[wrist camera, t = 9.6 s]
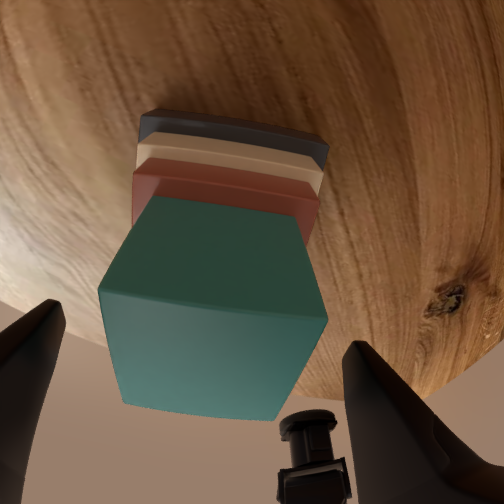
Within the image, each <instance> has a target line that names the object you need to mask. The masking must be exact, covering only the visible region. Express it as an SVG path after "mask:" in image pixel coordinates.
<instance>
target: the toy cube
mask: <svg viewBox="0 0 504 504" xmlns="http://www.w3.org/2000/svg"><path fill="white" fill-rule="evenodd" d="M98 296H99V302H100V307H101V313H102V318H103V323H104V328H105V333H106V338H107V342H108V347H109V351H110V355H111V359H112V363H113V367H114V371H115V375H116V378H117V382H118V386H119V389H120V393H121V396H122V400H123V402H124V403H125V404H130V405H135V406H140V407H145V408H150V409H156V410H162V411H168V412H175V413H182V414H190V415H198V416H206V417H215V418H227V419H241V420H259V421H274V420H275V418H276V417H277V415H278V413H279V412H280V410H281V408H282V406H283V405H284V403H285V401H286V400H287V398H288V396H289V394H290V393H291V391H292V389H293V387H294V385H295V384H296V382H297V380H298V378H299V376H300V375H301V373H302V371H303V369H304V367H305V365H306V363H307V362H308V360H309V358H310V356H311V354H312V352H313V350H314V348H315V346H316V344H317V342H318V340H319V338H320V336H321V334H322V332H323V330H324V328H325V326H326V324H327V322H328V316H327V312H326V309H325V306H324V303H323V299H322V296H321V293H320V290H319V287H318V283H317V280H316V277H315V274H314V271H313V268H312V265H311V262H310V259H309V256H308V253H307V250H306V247H305V244H304V241H303V238H302V235H301V232H300V229H299V226H298V223H297V220H296V218H295V217H293V216H288V215H282V214H276V213H270V212H264V211H258V210H251V209H245V208H239V207H232V206H226V205H219V204H212V203H205V202H198V201H191V200H184V199H177V198H169V197H161V196H152V197H151V198H150V200H149V201H148V203H147V205H146V206H145V208H144V209H143V211H142V212H141V214H140V216H139V217H138V219H137V220H136V222H135V224H134V225H133V227H132V229H131V230H130V232H129V234H128V235H127V237H126V239H125V240H124V242H123V244H122V245H121V247H120V249H119V250H118V252H117V254H116V256H115V257H114V259H113V261H112V263H111V265H110V266H109V268H108V270H107V272H106V274H105V275H104V277H103V279H102V281H101V283H100V285H99V287H98Z"/></svg>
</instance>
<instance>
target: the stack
mask: <svg viewBox="0 0 504 504" xmlns="http://www.w3.org/2000/svg"><path fill="white" fill-rule="evenodd" d="M329 147H330V146H329V145H328V144H327V143H326V142H325V141H323V140H322V139H321V138H320V137H319V136H317V135H314V134H310V133H306V132H301V131H297V130H292V129H288V128H283V127H278V126H273V125H268V124H263V123H258V122H252V121H247V120H241V119H235V118H228V117H222V116H215V115H208V114H200V113H192V112H183V111H173V110H162V109H154V110H152V111H149V112H147V113H145V114H143V115H141V118H140V128H139V140H138V148H137V162H136V170H135V171H134V173H133V183H132V227H133V225H134V224H135V222H136V220H137V219H138V217H139V216H140V214H141V212H142V211H143V209H144V208H145V206H146V205H147V203H148V201H149V200H150V198H151V197H152V196H161V197H169V198H177V199H184V200H191V201H198V202H205V203H212V204H219V205H226V206H232V207H239V208H245V209H251V210H258V211H264V212H270V213H276V214H282V215H288V216H293V217H295V218H296V220H297V223H298V226H299V229H300V232H301V235H302V238H303V241H304V244H305V247H306V246H307V243H308V240H309V237H310V234H311V231H312V228H313V225H314V221H315V218H316V215H317V212H318V209H319V205H320V200H319V199H318V197H317V196H318V192H319V189H320V186H321V182H322V179H323V176H324V173H323V169H324V165H325V162H326V158H327V154H328V151H329Z"/></svg>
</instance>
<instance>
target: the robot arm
mask: <svg viewBox="0 0 504 504" xmlns="http://www.w3.org/2000/svg"><path fill="white" fill-rule="evenodd" d="M65 327H66V319H65V316H64V312H63V309H62V305H61V303H60V302H59V301H57V300H53V299H47V300H45V301H44V302H42V303H41V304H39V305H38V306H37V307H35V308H34V309H32V310H31V311H29V312H28V313H26V314H25V315H24V316H23V317H21V318H19V319H18V320H17V321H15V322H14V323H12V324H11V325H10V326H8V327H7V328H6V329H4V330H3V331H1V332H0V504H21V499H22V493H23V486H24V481H25V477H24V476H25V474H26V469H27V464H28V460H29V455H30V451H31V446H32V442H33V438H34V434H35V430H36V427H37V423H38V419H39V416H40V412H41V409H42V406H43V402H44V399H45V396H46V393H47V390H48V387H49V384H50V380H51V378H52V375H53V372H54V368H55V365H56V361H57V357H58V353H59V349H60V345H61V341H62V338H63V334H64V331H65ZM342 370H343V385H344V400H345V409H346V415H347V420H348V427H349V434H350V440H351V447H352V453H353V461H354V469H355V476H356V485H357V493H358V502H359V504H504V467H503V466H497V465H493V464H490V463H488V462H486V461H484V460H483V459H482V458H480V457H479V456H478V455H477V454H476V453H475V452H474V451H473V450H472V449H470V448H469V447H468V446H467V445H466V444H465V443H464V442H463V441H461V440H460V439H459V438H458V437H457V436H456V435H455V434H454V433H453V432H452V431H451V430H450V429H449V428H448V427H447V426H446V425H445V424H444V423H443V422H442V421H441V420H440V419H439V418H438V416H437V415H435V414H434V412H433V411H432V410H431V409H430V408H429V407H428V406H427V405H426V404H425V403H424V402H423V401H422V399H421V398H420V397H419V396H418V395H417V394H416V393H415V392H414V391H413V390H412V389H411V388H410V387H409V386H408V385H407V383H406V382H405V381H404V380H403V379H402V378H401V377H400V376H399V375H398V374H397V373H396V372H395V371H394V370H393V369H392V368H391V367H390V366H389V365H388V363H387V362H386V361H385V360H384V359H383V358H382V357H381V356H380V355H379V354H378V353H377V352H376V351H375V350H374V349H373V348H372V347H371V346H370V345H369V344H368V343H367V342H366V341H359V340H355V341H353V342H352V343H351V345H350V346H349V348H348V350H347V351H346V353H345V354H344V356H343V359H342ZM337 424H338V422H337V420H324V421H295V422H293V423H292V424H291V425H290V427H289V428H288V429H287V431H286V432H285V433H284V435H283V436H282V438H281V441H289V443H290V452H291V462H292V468H289V469H280V472H279V473H278V490H277V501H278V502H280V503H281V504H347V499H350V498H352V493H351V488H350V481H349V476H348V471H347V467H346V462H345V457H342V458H340V459H336V460H334V455H333V448H332V443H331V438H330V431H331V430H332V429H333V428H334V427H335V426H336V425H337ZM341 470H342V471H341Z"/></svg>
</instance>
